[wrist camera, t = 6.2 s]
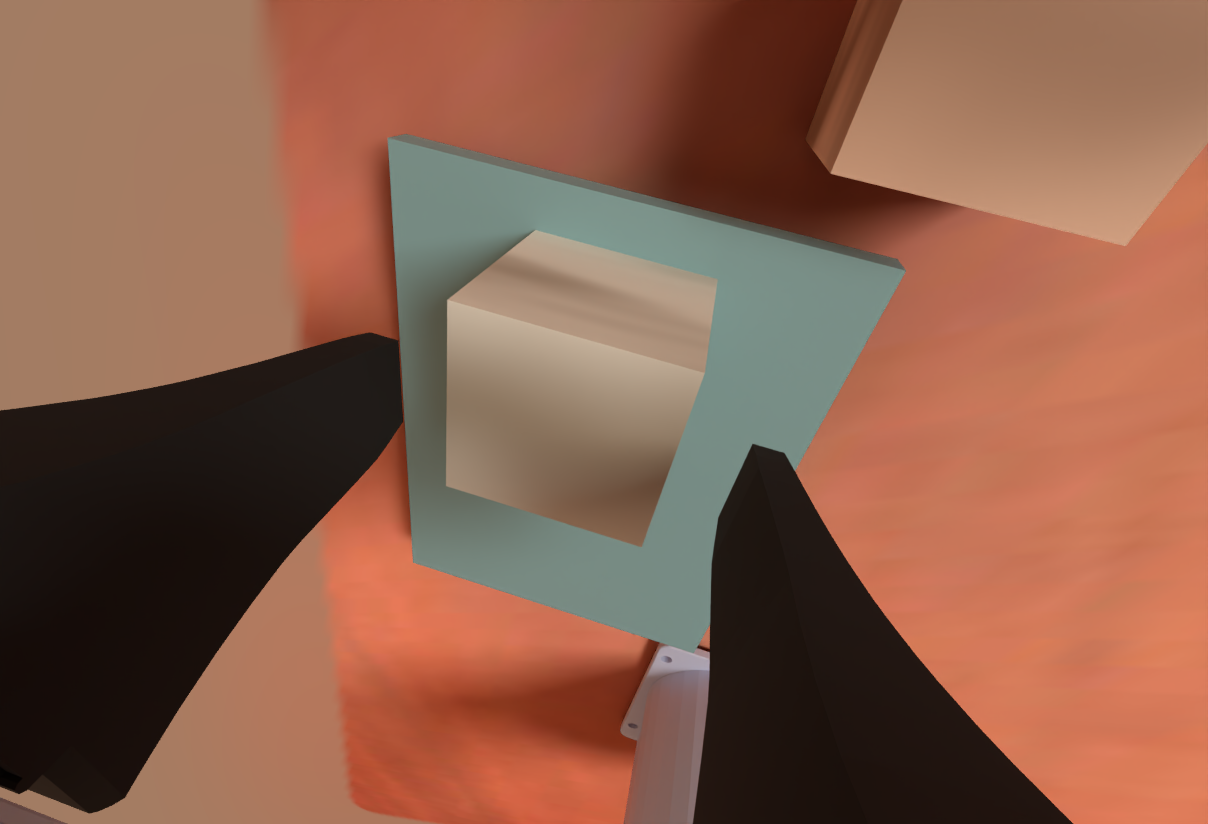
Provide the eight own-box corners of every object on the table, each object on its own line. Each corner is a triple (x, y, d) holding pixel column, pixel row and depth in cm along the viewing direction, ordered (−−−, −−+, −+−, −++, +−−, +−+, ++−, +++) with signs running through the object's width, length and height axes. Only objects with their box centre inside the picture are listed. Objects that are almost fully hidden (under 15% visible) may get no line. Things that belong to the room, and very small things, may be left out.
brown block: (1004, 187, 11) (1125, 246, 8) (804, 139, 12) (830, 173, 8) (1174, -89, 9) (1477, -196, 5) (909, -141, 9) (1017, -275, 5)
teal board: (697, 614, 22) (693, 653, 20) (434, 530, 23) (413, 562, 21) (887, 246, 12) (905, 270, 11) (426, 129, 13) (387, 137, 12)
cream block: (667, 427, 15) (641, 547, 11) (518, 383, 15) (445, 486, 11) (717, 279, 12) (705, 372, 8) (535, 230, 12) (447, 300, 9)
